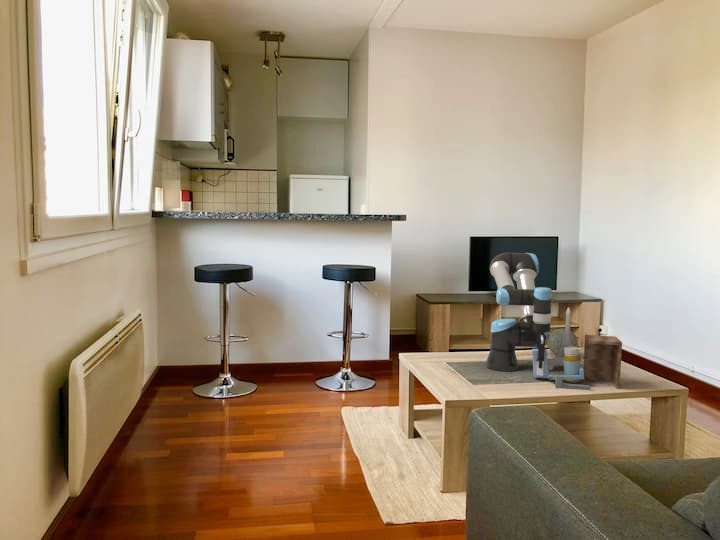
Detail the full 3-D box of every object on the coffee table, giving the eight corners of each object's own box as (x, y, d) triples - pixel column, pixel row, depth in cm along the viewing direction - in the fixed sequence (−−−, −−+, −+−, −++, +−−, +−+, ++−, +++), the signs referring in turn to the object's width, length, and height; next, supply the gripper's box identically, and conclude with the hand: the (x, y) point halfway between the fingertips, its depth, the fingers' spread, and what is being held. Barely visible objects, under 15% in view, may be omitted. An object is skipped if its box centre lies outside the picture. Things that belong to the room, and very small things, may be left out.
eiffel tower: (546, 369, 283) (549, 307, 280) (558, 364, 293) (561, 304, 290) (573, 374, 274) (576, 310, 271) (584, 369, 284) (588, 307, 281)
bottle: (578, 378, 264) (576, 345, 263) (582, 382, 257) (581, 349, 256) (562, 379, 265) (560, 346, 263) (566, 383, 258) (565, 350, 256)
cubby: (587, 386, 254) (589, 340, 252) (582, 378, 266) (585, 334, 265) (619, 389, 251) (622, 342, 249) (613, 380, 264) (615, 336, 262)
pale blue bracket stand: (534, 379, 259) (533, 353, 258) (533, 373, 269) (531, 347, 268) (584, 379, 254) (582, 351, 253) (580, 373, 264) (579, 346, 263)
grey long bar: (555, 387, 251) (556, 376, 251) (555, 386, 254) (555, 375, 253) (590, 390, 248) (591, 379, 248) (589, 389, 251) (590, 377, 250)
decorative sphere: (549, 359, 302) (550, 330, 301) (544, 352, 317) (546, 325, 315) (579, 360, 300) (581, 331, 298) (573, 354, 314) (575, 326, 313)
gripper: (552, 326, 253) (550, 379, 255) (548, 319, 269) (546, 369, 272) (534, 325, 254) (532, 378, 257) (531, 318, 271) (529, 368, 273)
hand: (539, 373), depth 264 cm, fingers closed on pale blue bracket stand, 4 cm apart
